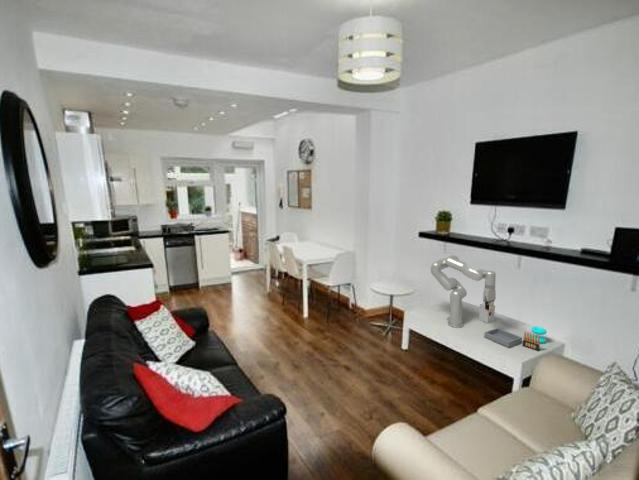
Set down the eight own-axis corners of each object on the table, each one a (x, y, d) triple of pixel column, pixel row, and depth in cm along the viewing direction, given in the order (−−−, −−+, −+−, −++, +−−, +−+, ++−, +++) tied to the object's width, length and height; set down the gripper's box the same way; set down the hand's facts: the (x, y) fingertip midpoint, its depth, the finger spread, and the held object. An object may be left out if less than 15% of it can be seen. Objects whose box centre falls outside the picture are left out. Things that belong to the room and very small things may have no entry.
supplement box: (487, 323, 289) (488, 307, 286) (478, 319, 297) (479, 304, 294) (494, 321, 293) (495, 305, 290) (485, 317, 301) (486, 302, 298)
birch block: (484, 310, 268) (485, 300, 266) (488, 309, 270) (488, 299, 269) (489, 311, 264) (490, 302, 263) (493, 310, 266) (493, 301, 265)
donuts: (542, 326, 259) (549, 331, 249) (541, 338, 260) (548, 344, 251) (528, 325, 260) (534, 331, 251) (527, 337, 262) (533, 343, 252)
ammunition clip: (522, 346, 249) (523, 331, 247) (523, 345, 250) (524, 330, 248) (538, 351, 241) (539, 335, 239) (539, 350, 242) (540, 335, 240)
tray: (484, 337, 264) (484, 332, 263) (497, 332, 271) (497, 327, 270) (508, 348, 246) (508, 342, 246) (521, 343, 254) (522, 337, 253)
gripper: (492, 283, 271) (491, 305, 274) (478, 287, 263) (478, 309, 266) (501, 285, 264) (500, 307, 267) (487, 289, 257) (486, 312, 259)
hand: (489, 308), depth 266 cm, fingers closed on birch block, 4 cm apart
